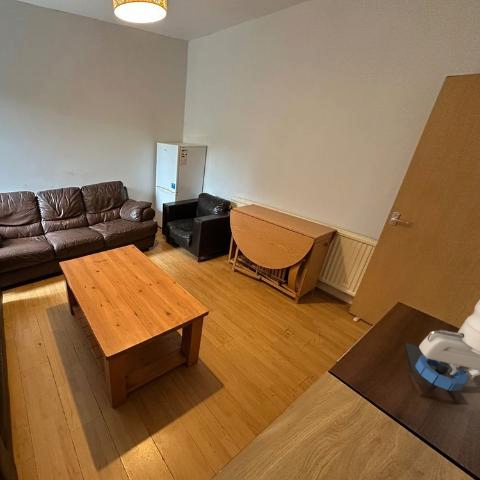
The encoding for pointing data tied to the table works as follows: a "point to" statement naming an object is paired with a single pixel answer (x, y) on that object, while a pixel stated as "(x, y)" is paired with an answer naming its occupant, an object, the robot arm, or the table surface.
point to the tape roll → (438, 379)
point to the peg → (431, 385)
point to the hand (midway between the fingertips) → (458, 375)
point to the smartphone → (413, 356)
